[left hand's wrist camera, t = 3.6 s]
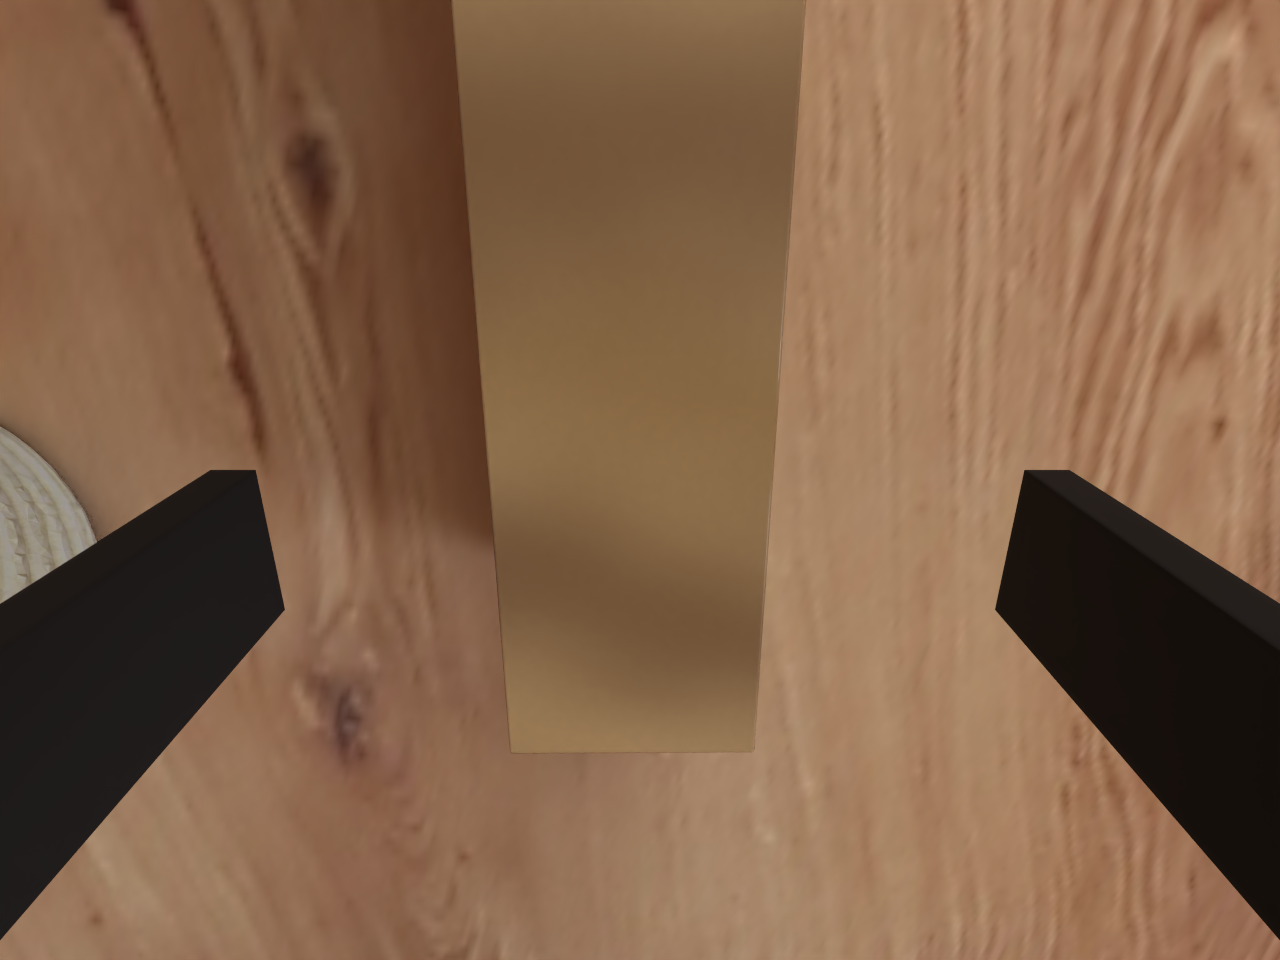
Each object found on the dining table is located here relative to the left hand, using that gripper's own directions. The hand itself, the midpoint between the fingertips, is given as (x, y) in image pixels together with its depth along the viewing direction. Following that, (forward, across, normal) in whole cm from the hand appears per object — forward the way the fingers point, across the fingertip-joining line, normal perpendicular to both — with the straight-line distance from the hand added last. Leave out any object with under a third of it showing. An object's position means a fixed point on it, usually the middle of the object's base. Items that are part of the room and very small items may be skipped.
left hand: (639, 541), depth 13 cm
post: (+10, 0, -20) cm, 23 cm away
